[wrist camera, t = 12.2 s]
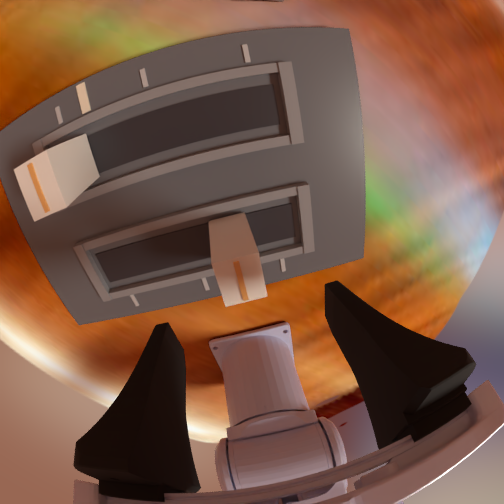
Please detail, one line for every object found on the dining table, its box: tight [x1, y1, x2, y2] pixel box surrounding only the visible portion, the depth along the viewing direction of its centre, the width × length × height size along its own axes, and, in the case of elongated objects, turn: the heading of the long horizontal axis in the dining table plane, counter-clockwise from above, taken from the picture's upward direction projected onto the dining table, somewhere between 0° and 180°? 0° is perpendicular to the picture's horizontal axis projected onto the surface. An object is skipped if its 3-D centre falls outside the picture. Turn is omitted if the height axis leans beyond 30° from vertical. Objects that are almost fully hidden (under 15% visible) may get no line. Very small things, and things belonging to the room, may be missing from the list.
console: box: [0, 27, 365, 325], centre depth 17 cm, size 18×26×2 cm
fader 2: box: [209, 212, 267, 307], centre depth 16 cm, size 3×2×5 cm
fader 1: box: [14, 134, 100, 222], centre depth 12 cm, size 3×2×5 cm
